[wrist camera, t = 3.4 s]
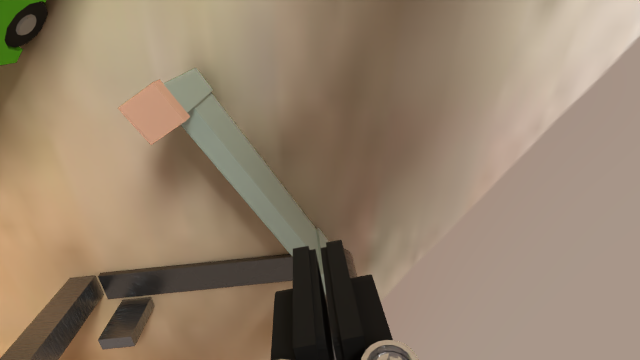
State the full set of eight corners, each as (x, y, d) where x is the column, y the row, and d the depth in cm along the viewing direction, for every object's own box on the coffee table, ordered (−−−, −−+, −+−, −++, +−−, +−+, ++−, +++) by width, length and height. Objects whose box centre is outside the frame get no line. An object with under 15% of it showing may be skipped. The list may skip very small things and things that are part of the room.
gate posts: (352, 245, 28) (382, 369, 18) (353, 285, 30) (382, 417, 20) (68, 274, 28) (-60, 417, 18) (87, 312, 29) (-20, 463, 20)
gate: (331, 240, 27) (342, 309, 21) (310, 252, 27) (314, 323, 21) (196, 62, 21) (152, 82, 15) (170, 81, 21) (117, 108, 15)
